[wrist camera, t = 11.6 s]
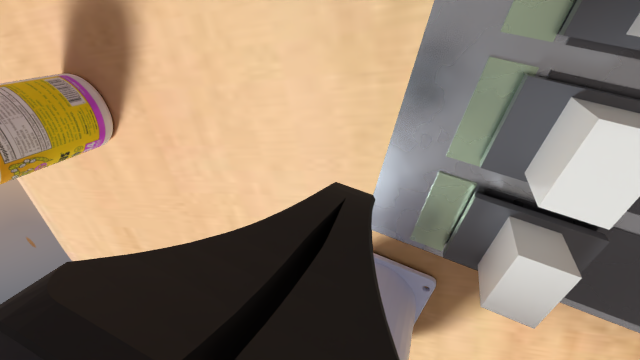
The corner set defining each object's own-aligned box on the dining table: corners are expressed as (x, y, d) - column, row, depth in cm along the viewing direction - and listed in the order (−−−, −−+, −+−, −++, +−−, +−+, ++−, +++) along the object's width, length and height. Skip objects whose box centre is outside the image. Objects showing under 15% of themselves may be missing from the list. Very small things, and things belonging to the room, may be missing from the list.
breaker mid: (617, 204, 14) (659, 256, 11) (479, 163, 15) (484, 199, 12) (697, 112, 11) (778, 147, 8) (525, 73, 13) (544, 91, 10)
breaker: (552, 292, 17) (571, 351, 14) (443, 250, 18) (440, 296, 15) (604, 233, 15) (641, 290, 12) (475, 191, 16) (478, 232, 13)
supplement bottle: (81, 140, 31) (-115, 207, 20) (50, 72, 28) (-200, 109, 17) (127, 146, 28) (-67, 226, 18) (99, 72, 25) (-156, 115, 15)
